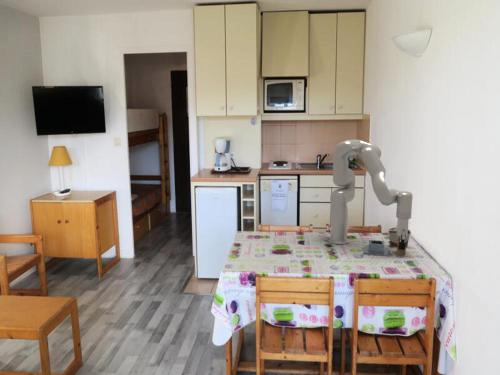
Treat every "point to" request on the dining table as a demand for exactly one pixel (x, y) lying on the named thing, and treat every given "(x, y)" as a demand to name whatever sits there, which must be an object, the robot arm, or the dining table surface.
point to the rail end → (399, 252)
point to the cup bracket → (376, 248)
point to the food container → (396, 237)
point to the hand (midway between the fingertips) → (401, 247)
